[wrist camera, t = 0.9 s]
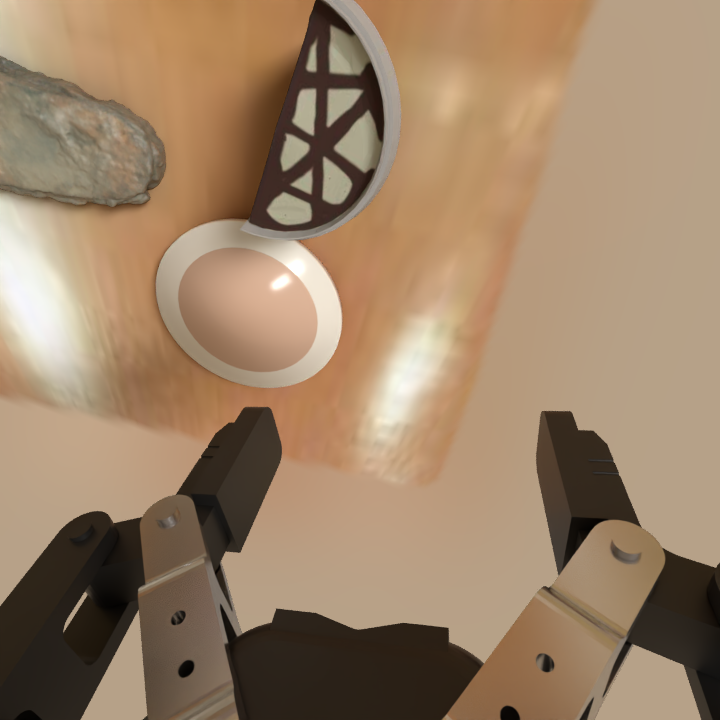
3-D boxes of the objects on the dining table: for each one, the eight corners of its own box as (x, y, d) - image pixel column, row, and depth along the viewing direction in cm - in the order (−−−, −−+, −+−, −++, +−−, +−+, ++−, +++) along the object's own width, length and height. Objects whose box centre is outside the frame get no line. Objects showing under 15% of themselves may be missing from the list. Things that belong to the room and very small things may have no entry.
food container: (359, 225, 34) (338, 285, 26) (283, 188, 33) (237, 238, 25) (443, 44, 27) (450, 50, 19) (350, -10, 26) (315, -28, 18)
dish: (179, 366, 45) (172, 376, 43) (146, 204, 35) (136, 210, 34) (339, 389, 44) (336, 399, 43) (349, 228, 34) (346, 236, 33)
